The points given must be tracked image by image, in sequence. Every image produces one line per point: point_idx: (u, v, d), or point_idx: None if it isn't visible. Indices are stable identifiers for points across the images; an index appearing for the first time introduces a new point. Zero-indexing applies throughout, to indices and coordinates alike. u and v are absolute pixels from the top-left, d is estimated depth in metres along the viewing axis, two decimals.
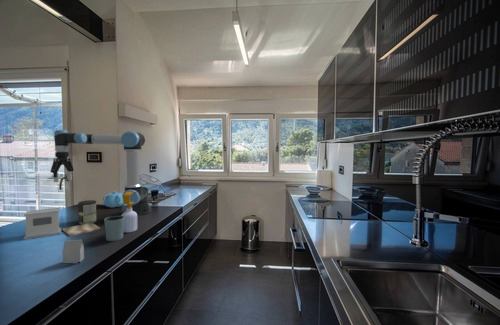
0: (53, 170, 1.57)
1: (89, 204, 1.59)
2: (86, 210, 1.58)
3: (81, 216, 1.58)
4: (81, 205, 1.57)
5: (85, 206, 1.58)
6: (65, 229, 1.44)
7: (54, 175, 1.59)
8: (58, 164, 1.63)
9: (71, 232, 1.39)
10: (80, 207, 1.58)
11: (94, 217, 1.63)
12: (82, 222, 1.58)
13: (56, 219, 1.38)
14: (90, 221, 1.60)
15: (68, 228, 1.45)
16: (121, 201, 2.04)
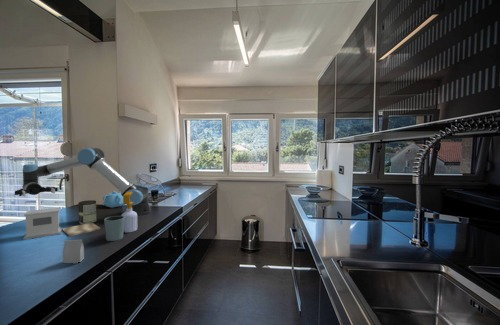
0: None
1: (89, 204, 1.59)
2: (86, 210, 1.58)
3: (81, 216, 1.58)
4: (81, 205, 1.57)
5: (85, 206, 1.58)
6: (65, 229, 1.44)
7: (19, 193, 1.38)
8: None
9: (71, 232, 1.39)
10: (80, 207, 1.58)
11: (94, 217, 1.63)
12: (82, 222, 1.58)
13: (56, 219, 1.38)
14: (90, 221, 1.60)
15: (68, 228, 1.45)
16: (121, 201, 2.04)
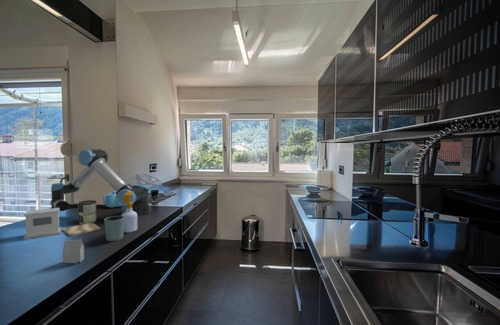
0: None
1: (89, 204, 1.59)
2: (86, 210, 1.58)
3: (81, 216, 1.58)
4: (81, 205, 1.57)
5: (85, 206, 1.58)
6: (65, 229, 1.44)
7: None
8: None
9: (71, 232, 1.39)
10: (80, 207, 1.58)
11: (94, 217, 1.63)
12: (82, 222, 1.58)
13: (56, 219, 1.38)
14: (90, 221, 1.60)
15: (68, 228, 1.45)
16: None
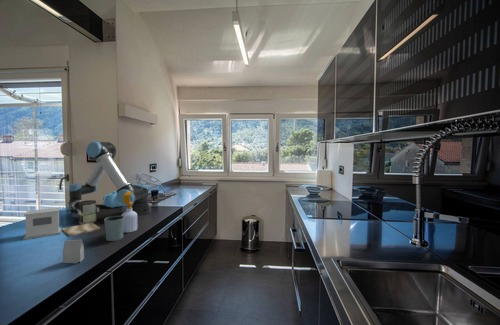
0: (71, 210, 1.58)
1: (89, 204, 1.59)
2: (86, 210, 1.58)
3: (81, 216, 1.58)
4: (81, 205, 1.57)
5: (85, 206, 1.58)
6: (65, 229, 1.44)
7: (75, 212, 1.57)
8: None
9: (71, 232, 1.39)
10: (80, 207, 1.58)
11: (94, 217, 1.63)
12: (82, 222, 1.58)
13: (56, 219, 1.38)
14: (90, 221, 1.60)
15: (68, 228, 1.45)
16: None
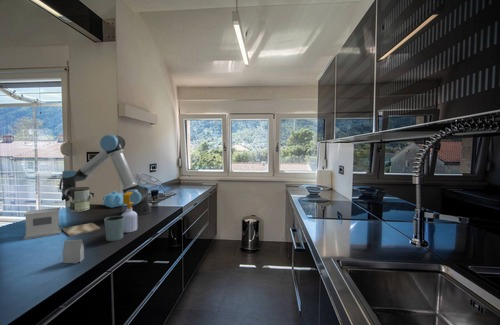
0: (62, 197, 1.45)
1: (81, 190, 1.45)
2: (78, 197, 1.45)
3: (72, 203, 1.44)
4: (72, 191, 1.44)
5: (77, 192, 1.44)
6: (65, 229, 1.44)
7: (66, 198, 1.44)
8: None
9: (71, 232, 1.39)
10: (71, 193, 1.44)
11: (87, 205, 1.49)
12: (73, 210, 1.45)
13: (56, 219, 1.38)
14: (82, 209, 1.46)
15: (68, 228, 1.45)
16: (121, 201, 2.04)
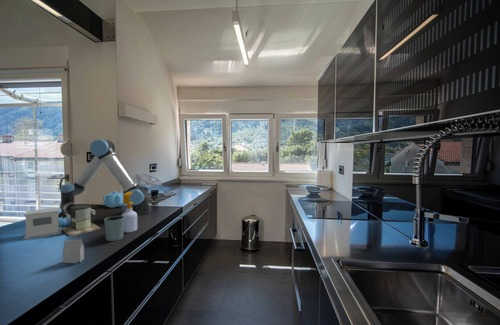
0: None
1: (82, 209, 1.42)
2: (79, 216, 1.41)
3: (73, 222, 1.41)
4: (73, 210, 1.41)
5: (78, 211, 1.41)
6: (65, 229, 1.44)
7: (63, 216, 1.41)
8: None
9: (71, 232, 1.39)
10: (72, 212, 1.41)
11: (88, 223, 1.46)
12: (75, 229, 1.41)
13: (56, 219, 1.38)
14: (84, 228, 1.43)
15: (68, 228, 1.45)
16: (121, 201, 2.04)
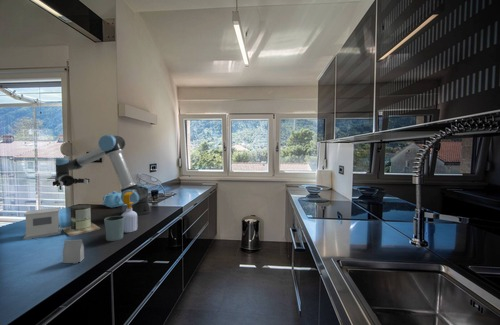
0: None
1: (82, 209, 1.42)
2: (79, 216, 1.42)
3: (73, 222, 1.41)
4: (73, 210, 1.41)
5: (78, 211, 1.41)
6: (65, 229, 1.44)
7: (57, 183, 1.47)
8: (62, 181, 1.55)
9: (71, 232, 1.39)
10: (72, 212, 1.41)
11: (88, 223, 1.46)
12: (75, 229, 1.41)
13: (56, 219, 1.38)
14: (84, 228, 1.43)
15: (68, 228, 1.45)
16: (121, 201, 2.04)
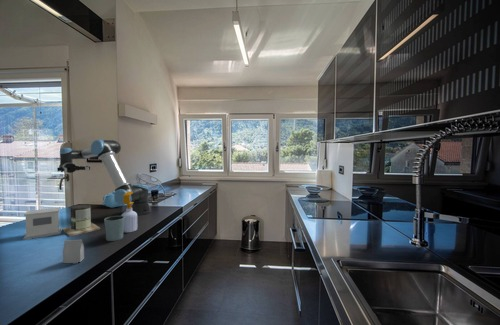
0: None
1: (82, 209, 1.42)
2: (79, 216, 1.41)
3: (73, 222, 1.41)
4: (73, 210, 1.41)
5: (78, 211, 1.41)
6: (65, 229, 1.44)
7: (61, 169, 1.66)
8: (65, 168, 1.74)
9: (71, 232, 1.39)
10: (72, 212, 1.41)
11: (88, 223, 1.46)
12: (75, 229, 1.41)
13: (56, 219, 1.38)
14: (84, 228, 1.43)
15: (68, 228, 1.45)
16: None
